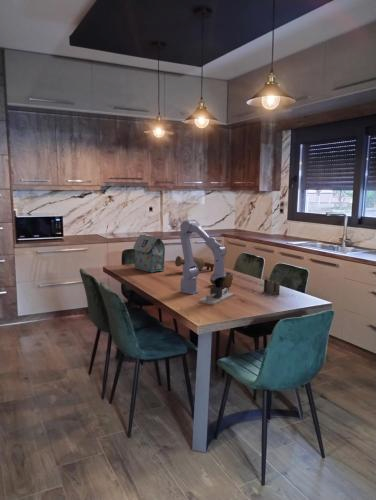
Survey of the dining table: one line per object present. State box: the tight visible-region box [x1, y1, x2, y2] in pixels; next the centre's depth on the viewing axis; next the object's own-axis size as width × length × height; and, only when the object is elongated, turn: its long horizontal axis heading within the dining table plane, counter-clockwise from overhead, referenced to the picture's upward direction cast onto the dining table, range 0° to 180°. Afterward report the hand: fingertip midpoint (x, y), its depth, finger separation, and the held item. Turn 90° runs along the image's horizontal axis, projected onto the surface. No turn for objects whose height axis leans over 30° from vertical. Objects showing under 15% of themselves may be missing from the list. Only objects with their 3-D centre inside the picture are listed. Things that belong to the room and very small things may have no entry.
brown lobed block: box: [209, 271, 234, 289], centre depth 257 cm, size 9×16×10 cm, turn 33°
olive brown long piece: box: [174, 255, 214, 272], centre depth 301 cm, size 10×12×30 cm
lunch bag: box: [133, 234, 166, 273], centre depth 303 cm, size 23×16×27 cm
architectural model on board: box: [263, 276, 281, 296], centre depth 245 cm, size 11×3×10 cm, turn 29°
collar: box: [209, 286, 223, 298], centre depth 229 cm, size 3×6×5 cm, turn 57°
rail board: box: [198, 288, 235, 306], centre depth 231 cm, size 24×10×4 cm, turn 146°
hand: (218, 290), depth 231 cm, fingers closed
